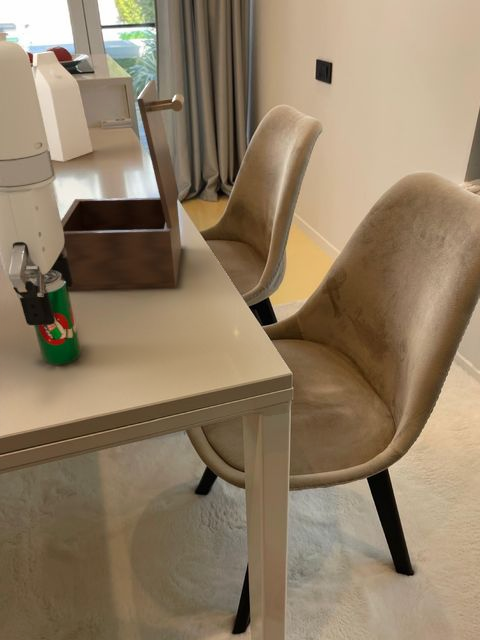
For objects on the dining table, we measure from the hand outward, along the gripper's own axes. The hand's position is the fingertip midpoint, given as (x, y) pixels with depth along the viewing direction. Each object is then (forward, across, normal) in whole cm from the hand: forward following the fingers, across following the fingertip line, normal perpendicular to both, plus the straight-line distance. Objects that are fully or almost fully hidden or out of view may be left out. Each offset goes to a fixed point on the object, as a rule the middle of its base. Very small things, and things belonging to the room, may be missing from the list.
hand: (51, 303), depth 71 cm
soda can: (+8, 0, 0) cm, 8 cm away
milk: (+8, -104, -24) cm, 107 cm away
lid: (-11, -27, +12) cm, 32 cm away
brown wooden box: (+8, -27, +5) cm, 29 cm away
